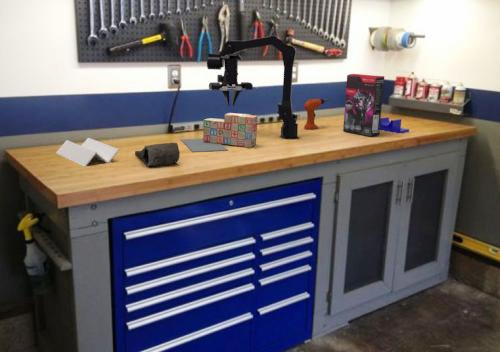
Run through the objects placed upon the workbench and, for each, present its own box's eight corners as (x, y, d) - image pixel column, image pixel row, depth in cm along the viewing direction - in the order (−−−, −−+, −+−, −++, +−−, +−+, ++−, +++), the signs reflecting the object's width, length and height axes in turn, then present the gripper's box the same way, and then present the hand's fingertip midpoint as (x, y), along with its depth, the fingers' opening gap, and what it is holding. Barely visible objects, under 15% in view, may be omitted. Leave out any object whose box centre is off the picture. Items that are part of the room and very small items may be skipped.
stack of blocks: (202, 142, 214) (203, 112, 210) (208, 139, 219) (209, 110, 216) (251, 147, 207) (252, 117, 204) (256, 144, 213) (257, 115, 210)
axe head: (189, 140, 176) (146, 146, 170) (192, 162, 178) (149, 169, 172) (167, 136, 200) (129, 142, 194) (170, 156, 201) (132, 162, 195)
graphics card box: (341, 131, 247) (345, 73, 240) (350, 130, 251) (355, 73, 244) (371, 137, 234) (376, 76, 227) (380, 135, 239) (385, 76, 232)
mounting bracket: (408, 132, 250) (410, 120, 248) (400, 134, 245) (401, 122, 244) (377, 127, 263) (378, 115, 261) (369, 128, 258) (370, 117, 257)
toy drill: (333, 123, 261) (333, 93, 256) (309, 132, 249) (308, 101, 244) (325, 122, 264) (325, 93, 259) (301, 130, 252) (300, 100, 247)
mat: (213, 138, 223) (213, 138, 223) (228, 150, 201) (228, 149, 201) (180, 140, 219) (180, 139, 219) (192, 152, 197) (192, 151, 197)
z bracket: (97, 177, 176) (84, 166, 172) (68, 162, 195) (55, 152, 191) (119, 149, 180) (106, 138, 176) (88, 138, 198) (76, 127, 194)
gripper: (245, 68, 236) (245, 103, 240) (205, 68, 230) (205, 103, 234) (253, 70, 226) (252, 106, 230) (212, 70, 220) (211, 107, 224)
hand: (230, 105), depth 230 cm, fingers closed
